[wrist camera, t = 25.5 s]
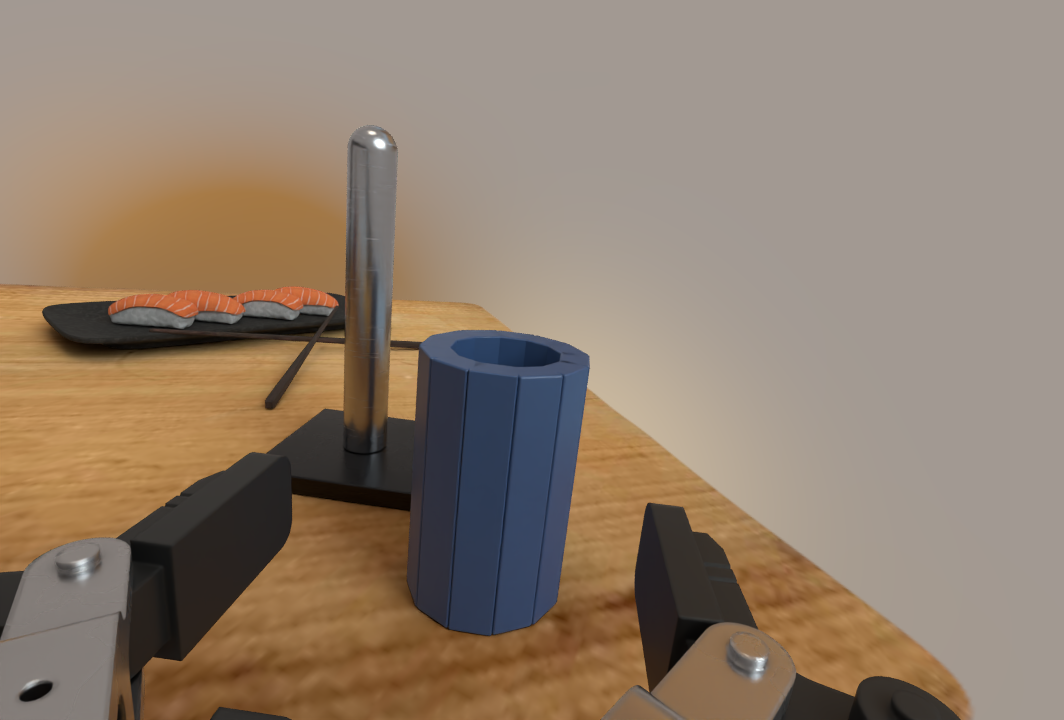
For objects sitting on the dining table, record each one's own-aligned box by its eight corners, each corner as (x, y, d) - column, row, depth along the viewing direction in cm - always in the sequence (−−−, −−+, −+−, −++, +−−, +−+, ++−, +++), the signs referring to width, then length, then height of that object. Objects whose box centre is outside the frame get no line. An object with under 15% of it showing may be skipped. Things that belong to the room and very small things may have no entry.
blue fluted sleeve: (387, 620, 20) (397, 361, 18) (431, 527, 26) (445, 323, 24) (553, 646, 20) (590, 386, 17) (560, 546, 26) (589, 341, 23)
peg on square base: (244, 487, 28) (230, 98, 23) (324, 422, 37) (326, 129, 32) (418, 512, 27) (440, 120, 23) (457, 440, 36) (479, 145, 31)
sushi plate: (331, 305, 72) (331, 276, 71) (492, 365, 53) (496, 327, 52) (36, 324, 50) (30, 283, 49) (135, 436, 32) (129, 373, 31)
